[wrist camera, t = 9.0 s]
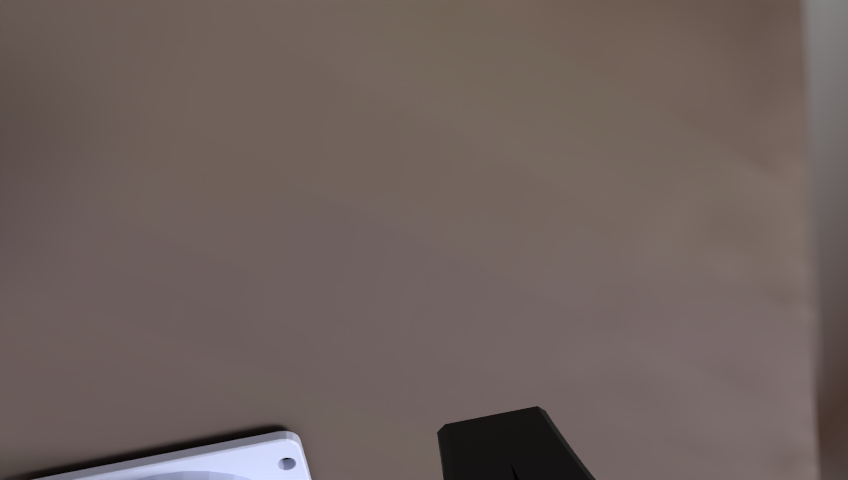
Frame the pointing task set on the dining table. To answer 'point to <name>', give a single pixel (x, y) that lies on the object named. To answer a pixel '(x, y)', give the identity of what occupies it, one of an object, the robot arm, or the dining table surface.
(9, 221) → the dining table surface
